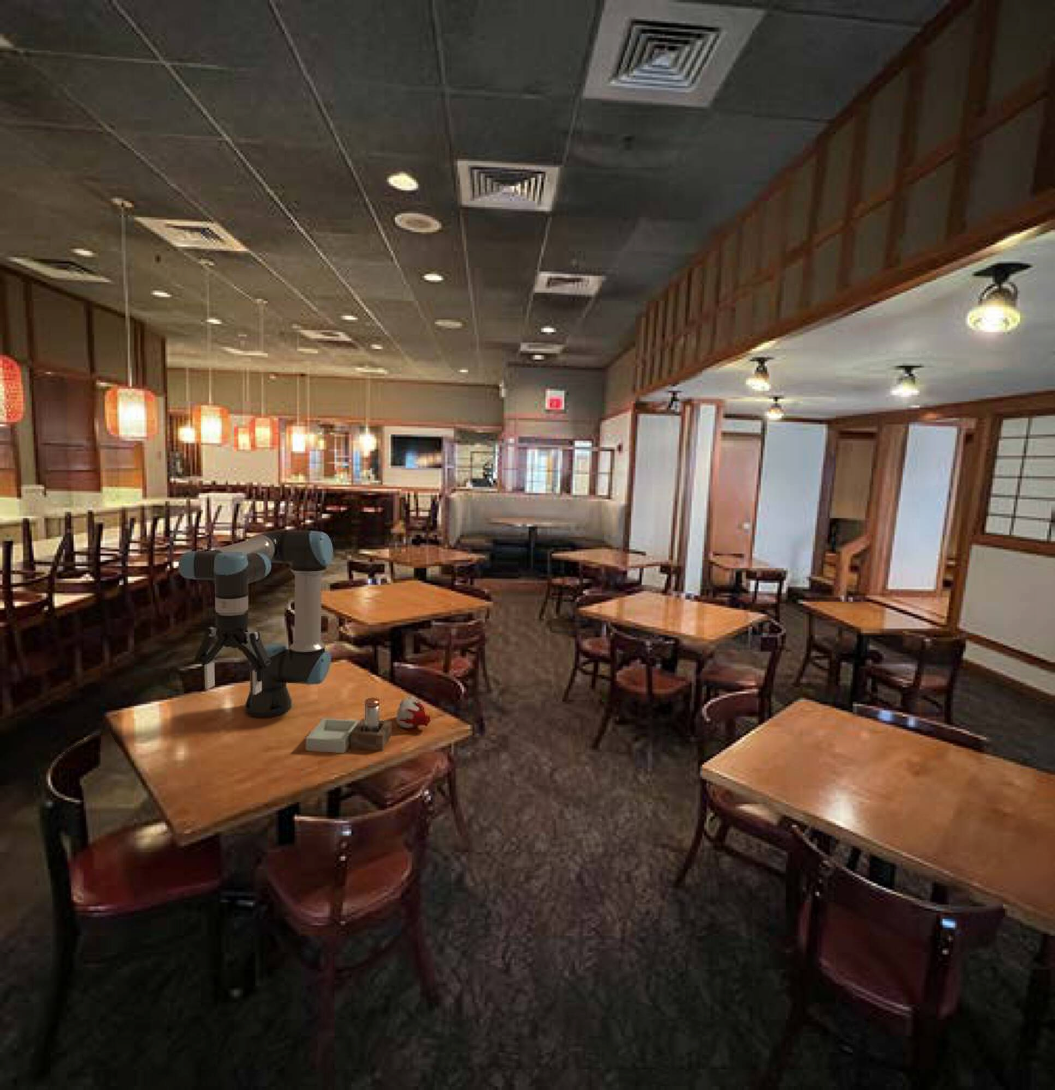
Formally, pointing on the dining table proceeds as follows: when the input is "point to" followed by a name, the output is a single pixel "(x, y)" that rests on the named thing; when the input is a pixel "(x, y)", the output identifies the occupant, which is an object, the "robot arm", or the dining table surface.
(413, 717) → the candle
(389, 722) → the block
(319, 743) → the tray
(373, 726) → the pin
